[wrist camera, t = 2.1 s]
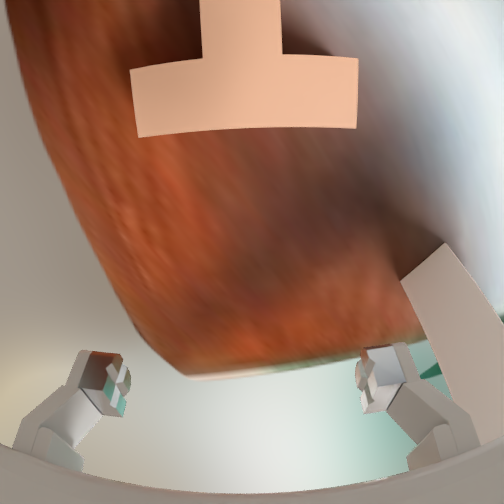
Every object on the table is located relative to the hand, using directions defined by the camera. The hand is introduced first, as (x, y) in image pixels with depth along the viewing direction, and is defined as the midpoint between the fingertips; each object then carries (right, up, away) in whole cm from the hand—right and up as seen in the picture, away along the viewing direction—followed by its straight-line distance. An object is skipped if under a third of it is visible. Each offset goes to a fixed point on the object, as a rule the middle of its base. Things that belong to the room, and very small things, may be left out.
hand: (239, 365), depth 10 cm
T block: (0, +18, +7) cm, 19 cm away
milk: (+19, +1, +18) cm, 26 cm away
